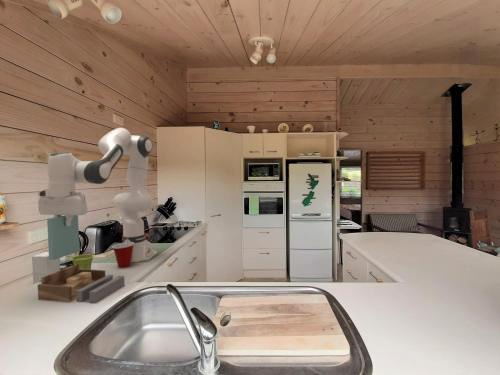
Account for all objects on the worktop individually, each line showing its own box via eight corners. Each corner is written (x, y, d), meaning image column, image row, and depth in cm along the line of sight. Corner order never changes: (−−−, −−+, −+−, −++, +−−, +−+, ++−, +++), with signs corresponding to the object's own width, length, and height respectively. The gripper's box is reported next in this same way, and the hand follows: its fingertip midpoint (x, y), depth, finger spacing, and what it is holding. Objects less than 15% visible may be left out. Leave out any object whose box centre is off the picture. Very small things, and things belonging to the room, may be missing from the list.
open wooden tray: (78, 284, 116) (77, 263, 115) (105, 286, 113) (105, 264, 113) (38, 303, 98) (37, 278, 98) (69, 306, 95) (68, 280, 95)
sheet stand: (108, 287, 112) (107, 274, 111) (124, 288, 110) (124, 276, 110) (76, 305, 96) (76, 290, 96) (95, 307, 94) (94, 292, 94)
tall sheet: (75, 251, 112) (74, 214, 111) (79, 251, 111) (77, 214, 111) (49, 259, 100) (47, 218, 99) (53, 260, 100) (51, 218, 99)
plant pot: (98, 271, 132) (98, 254, 132) (85, 278, 123) (84, 260, 122) (81, 270, 133) (81, 254, 133) (66, 277, 124) (66, 259, 123)
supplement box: (61, 278, 123) (60, 251, 123) (47, 284, 116) (46, 256, 116) (46, 277, 124) (45, 251, 124) (32, 283, 117) (31, 256, 116)
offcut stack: (85, 284, 111) (84, 270, 111) (95, 285, 110) (94, 271, 110) (59, 297, 100) (59, 281, 99) (70, 298, 99) (70, 282, 98)
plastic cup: (113, 264, 142) (112, 243, 142) (134, 261, 146) (134, 240, 146) (111, 270, 132) (111, 247, 132) (134, 267, 137) (134, 245, 136)
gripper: (90, 191, 106) (92, 225, 106) (49, 191, 110) (50, 223, 110) (77, 192, 100) (79, 228, 100) (34, 192, 104) (35, 226, 104)
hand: (63, 225), depth 105 cm, fingers closed on tall sheet, 2 cm apart
